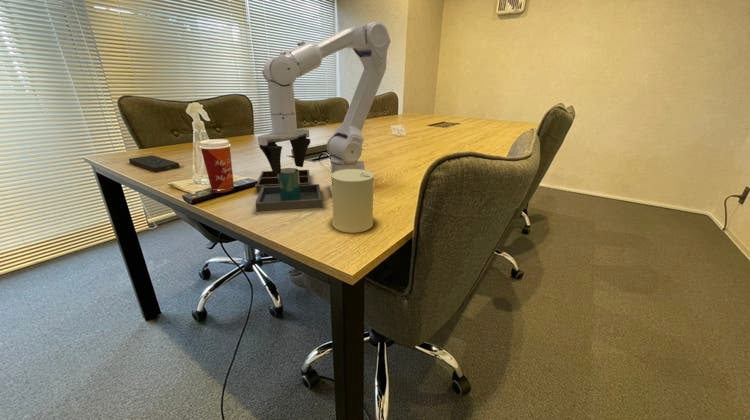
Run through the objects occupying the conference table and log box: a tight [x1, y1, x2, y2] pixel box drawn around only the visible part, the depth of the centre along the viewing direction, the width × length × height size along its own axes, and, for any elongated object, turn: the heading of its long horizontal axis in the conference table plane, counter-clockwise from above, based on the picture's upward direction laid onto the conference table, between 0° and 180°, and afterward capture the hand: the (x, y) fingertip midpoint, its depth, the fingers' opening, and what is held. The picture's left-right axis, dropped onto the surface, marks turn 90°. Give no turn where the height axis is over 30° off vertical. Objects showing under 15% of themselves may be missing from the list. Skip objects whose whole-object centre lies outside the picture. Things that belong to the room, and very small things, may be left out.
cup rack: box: [255, 169, 311, 194], centre depth 92 cm, size 15×15×2 cm
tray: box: [255, 183, 323, 213], centre depth 79 cm, size 16×13×2 cm
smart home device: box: [128, 154, 181, 173], centre depth 109 cm, size 8×2×20 cm
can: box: [330, 169, 375, 234], centre depth 66 cm, size 9×9×12 cm
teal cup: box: [278, 167, 301, 201], centre depth 78 cm, size 5×5×8 cm
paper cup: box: [198, 138, 235, 194], centre depth 84 cm, size 8×8×14 cm
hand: (288, 169), depth 77 cm, fingers open, 7 cm apart
